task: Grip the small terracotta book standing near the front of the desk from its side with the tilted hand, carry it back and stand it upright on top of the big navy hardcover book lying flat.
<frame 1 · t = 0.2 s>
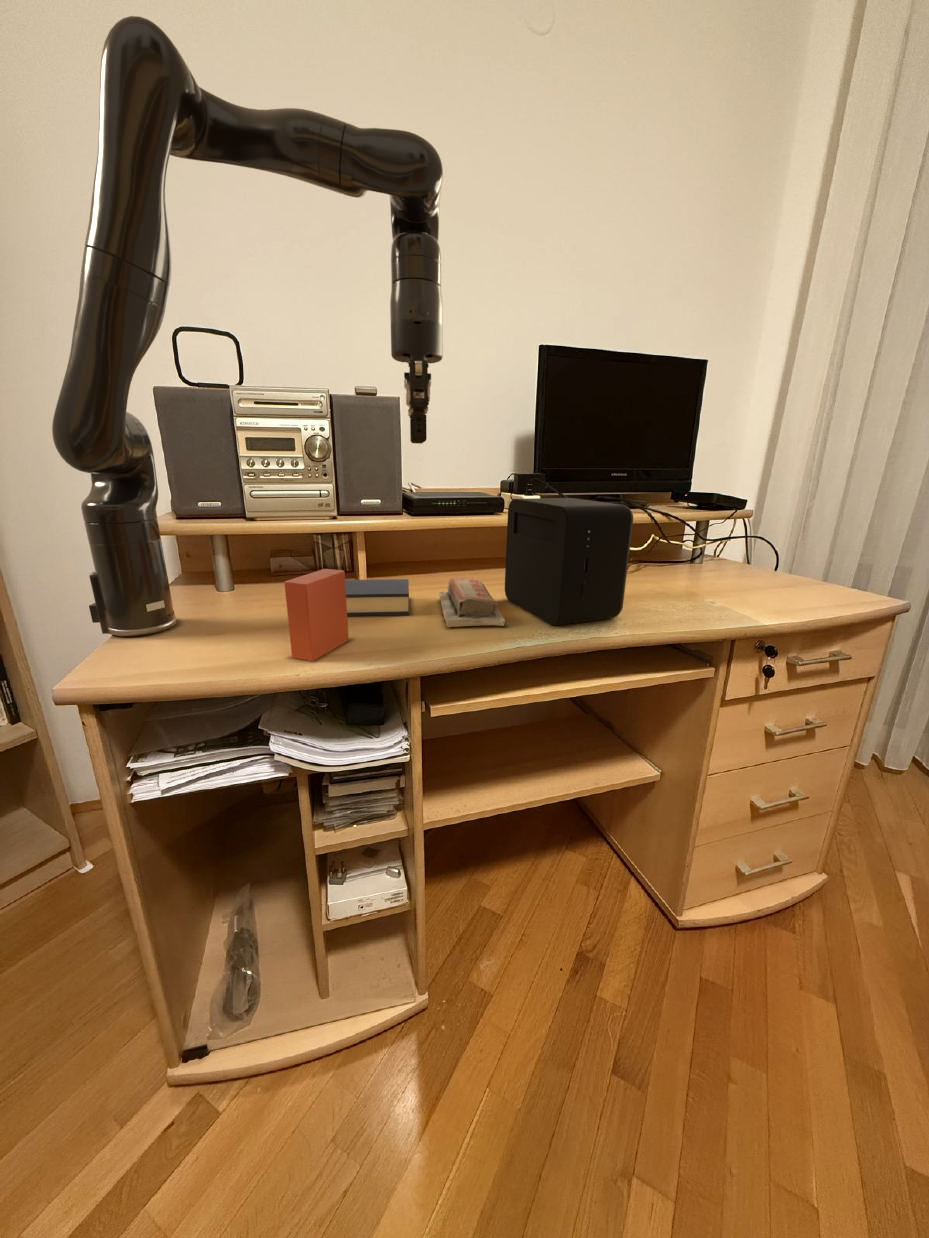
hand: (418, 442, 76), 29 cm above the table, tool pointing down, fingers open, 8 cm apart
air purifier: (561, 609, 93), on the table
packaged product: (469, 613, 90), on the table
small book: (321, 648, 72), on the table
big book: (371, 606, 93), on the table
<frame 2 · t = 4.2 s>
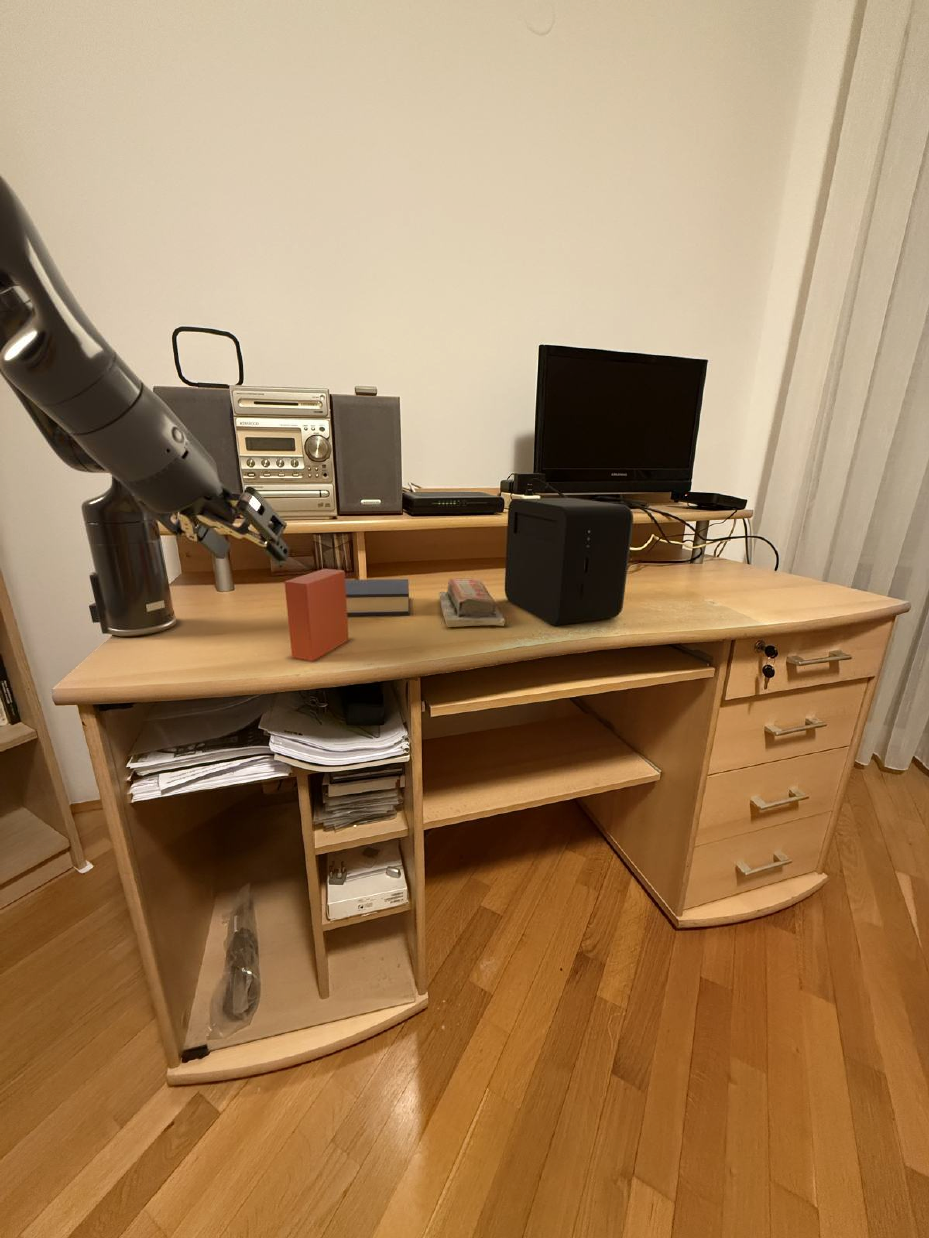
hand: (254, 555, 57), 16 cm above the table, tool tilted 45°, fingers open, 8 cm apart
nothing on the table moved.
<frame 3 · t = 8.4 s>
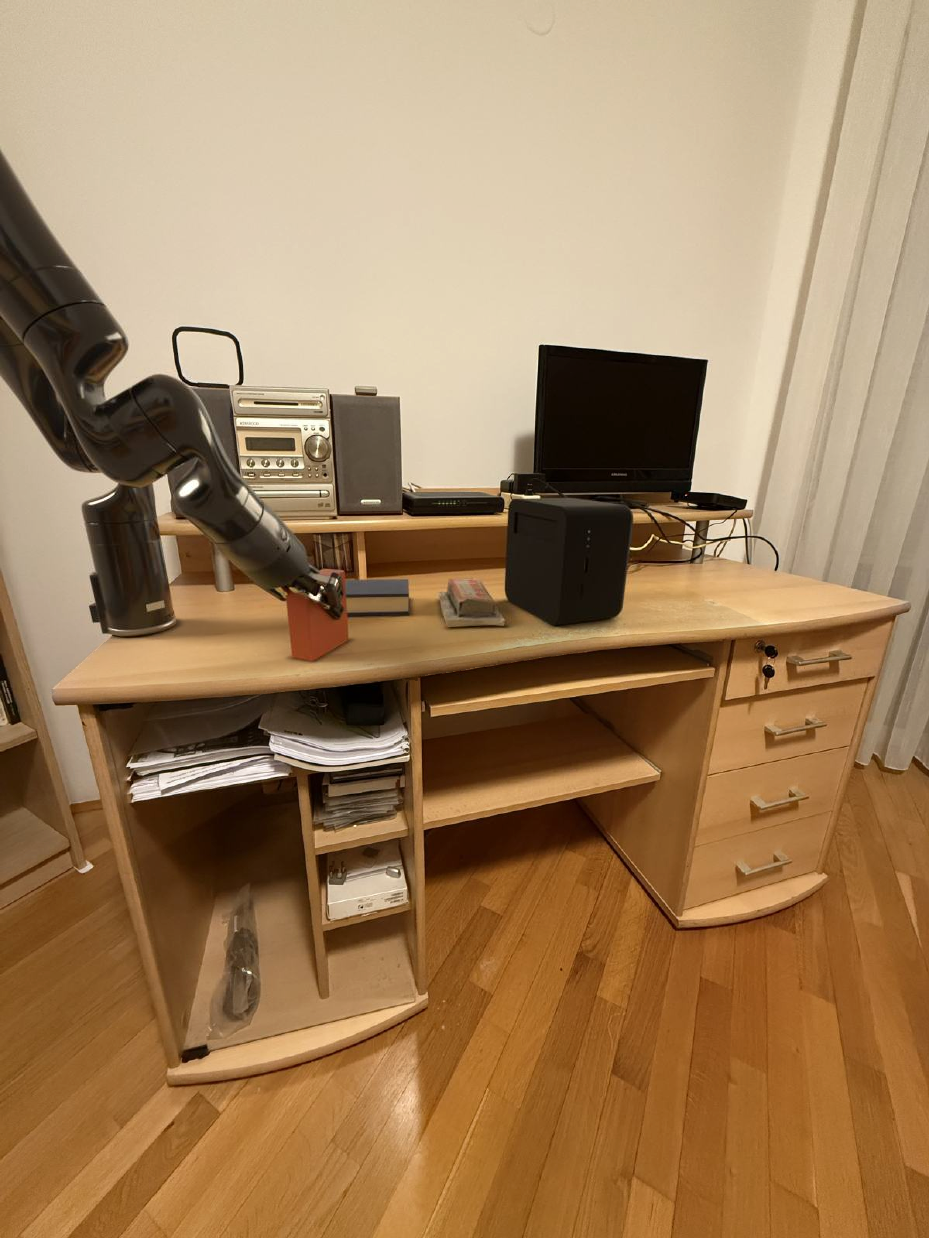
hand: (327, 612, 72), 5 cm above the table, tool tilted 45°, fingers closed on small book, 3 cm apart
small book: (321, 648, 72), on the table, touching gripper
everything else where it was.
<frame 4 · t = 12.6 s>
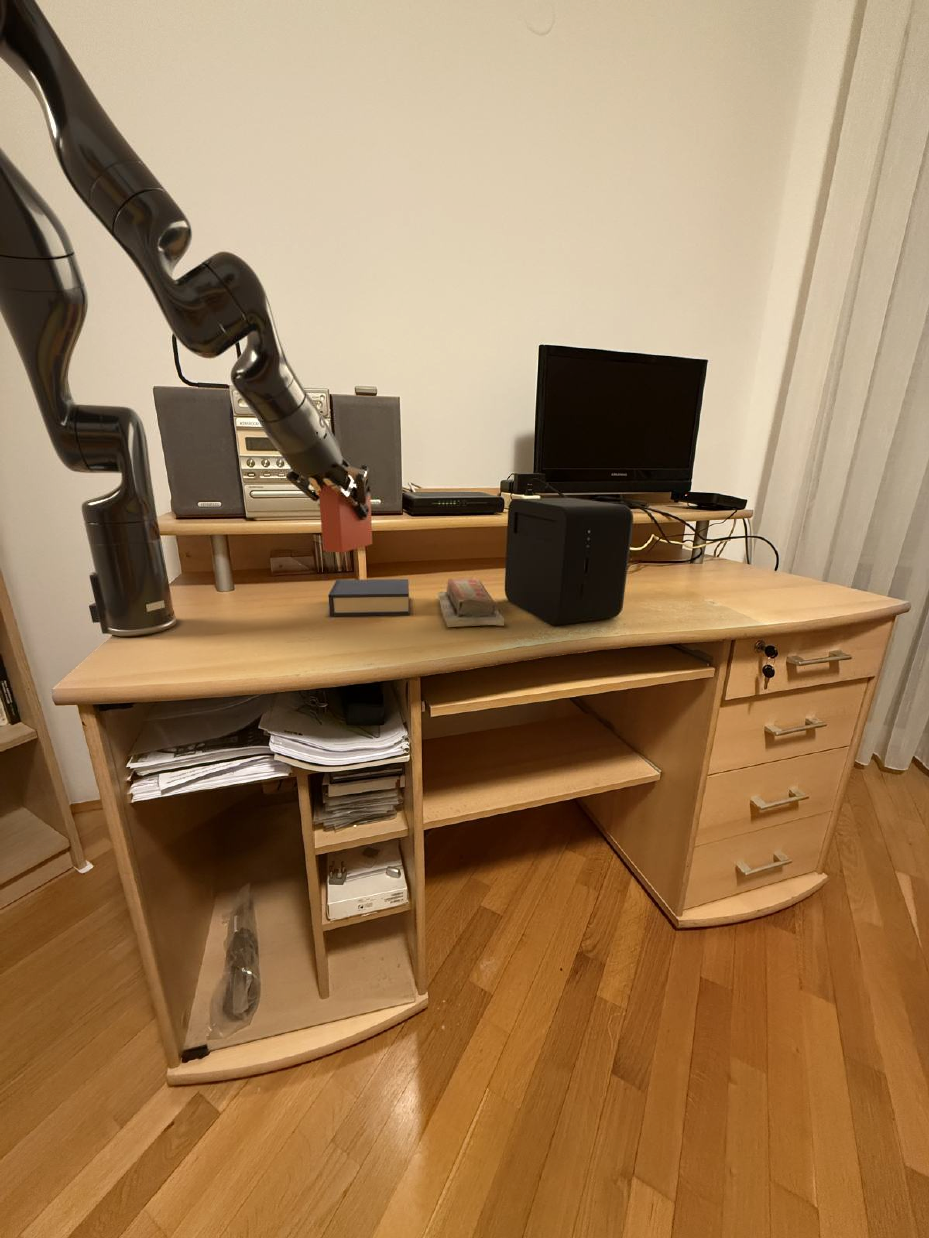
hand: (354, 515, 80), 18 cm above the table, tool tilted 45°, fingers closed on small book, 3 cm apart
small book: (348, 547, 80), point 13 cm above the table, touching gripper
everything else where it was.
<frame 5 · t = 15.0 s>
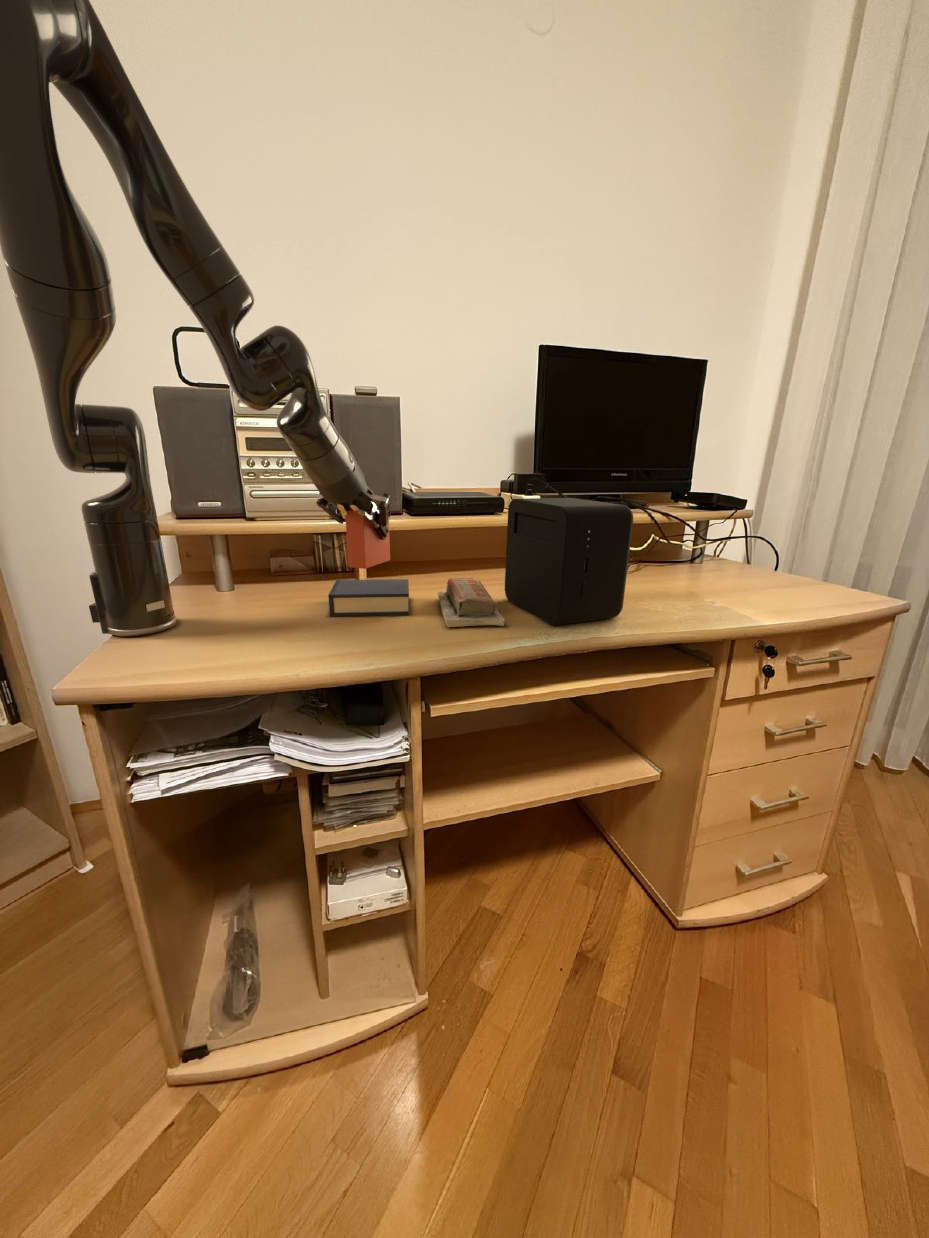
hand: (374, 534, 90), 13 cm above the table, tool tilted 45°, fingers closed on small book, 3 cm apart
small book: (370, 563, 90), point 8 cm above the table, touching gripper
everything else where it was.
when the fingers open (9 cm above the table, at t = 16.6 s): small book stays where it is, resting on big book.
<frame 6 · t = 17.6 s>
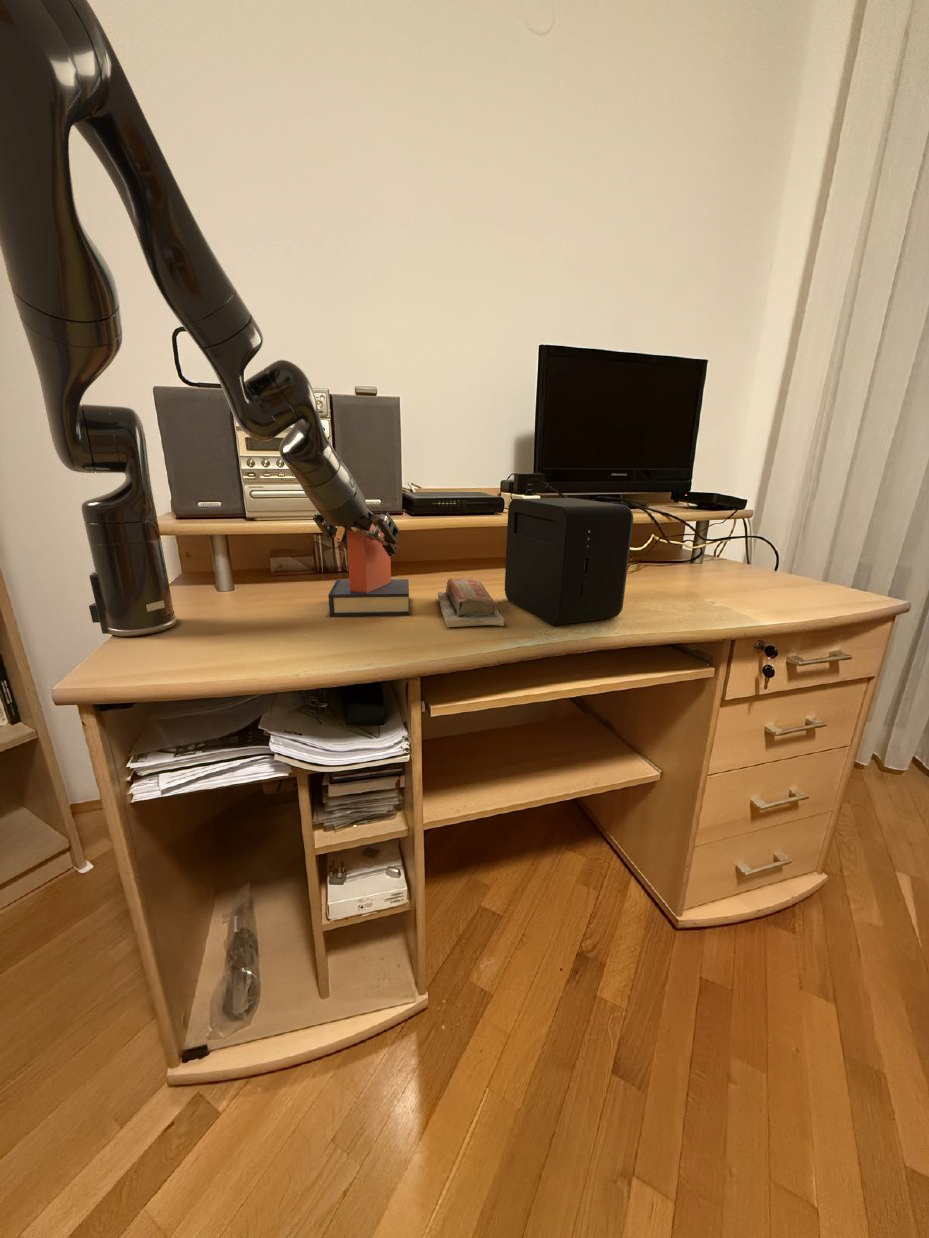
hand: (372, 550, 91), 11 cm above the table, tool tilted 45°, fingers open, 8 cm apart
small book: (371, 586, 91), point 4 cm above the table, touching big book
big book: (371, 606, 93), on the table, touching small book
everything else where it was.
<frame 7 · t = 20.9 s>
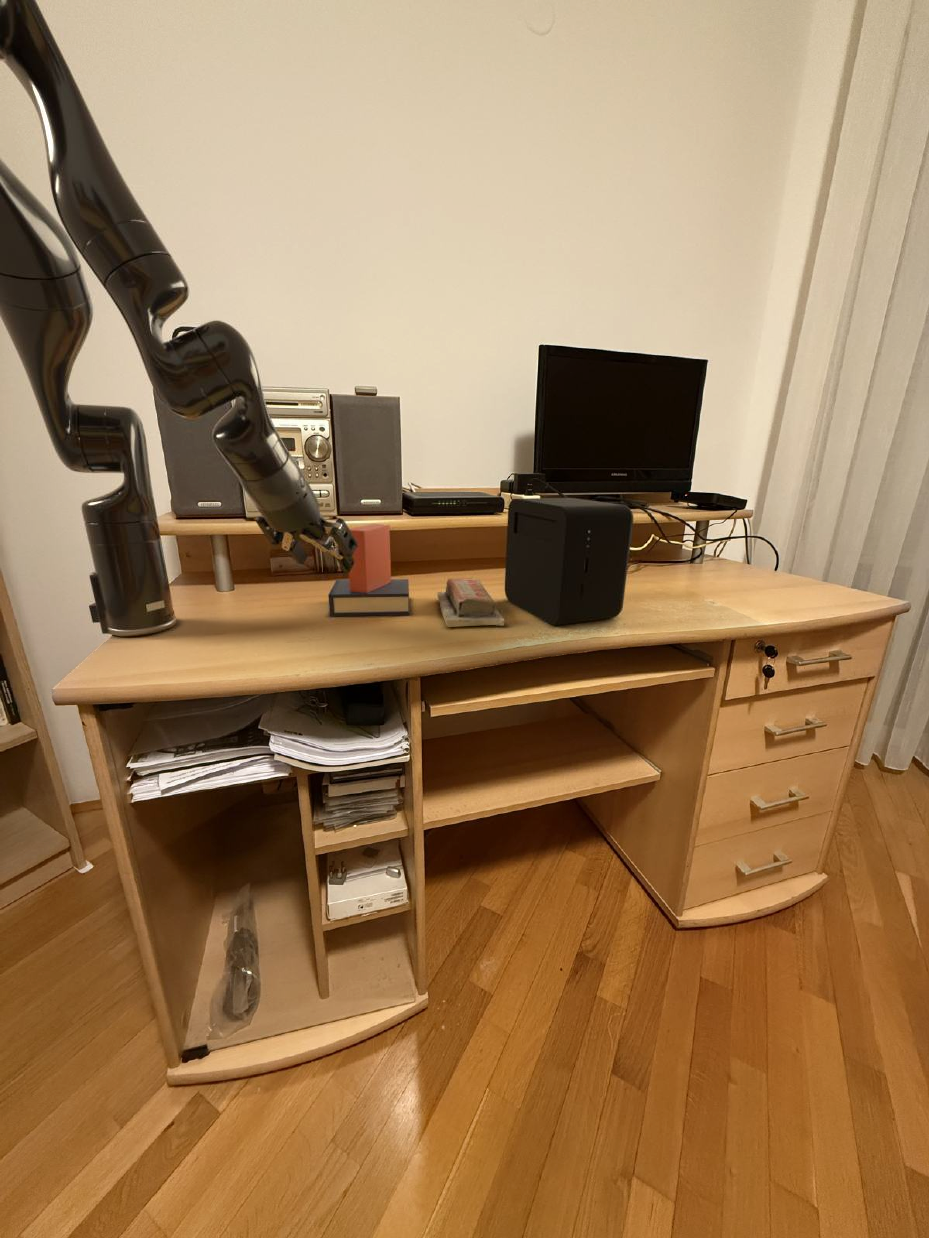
hand: (326, 564, 78), 11 cm above the table, tool tilted 40°, fingers open, 8 cm apart
nothing on the table moved.
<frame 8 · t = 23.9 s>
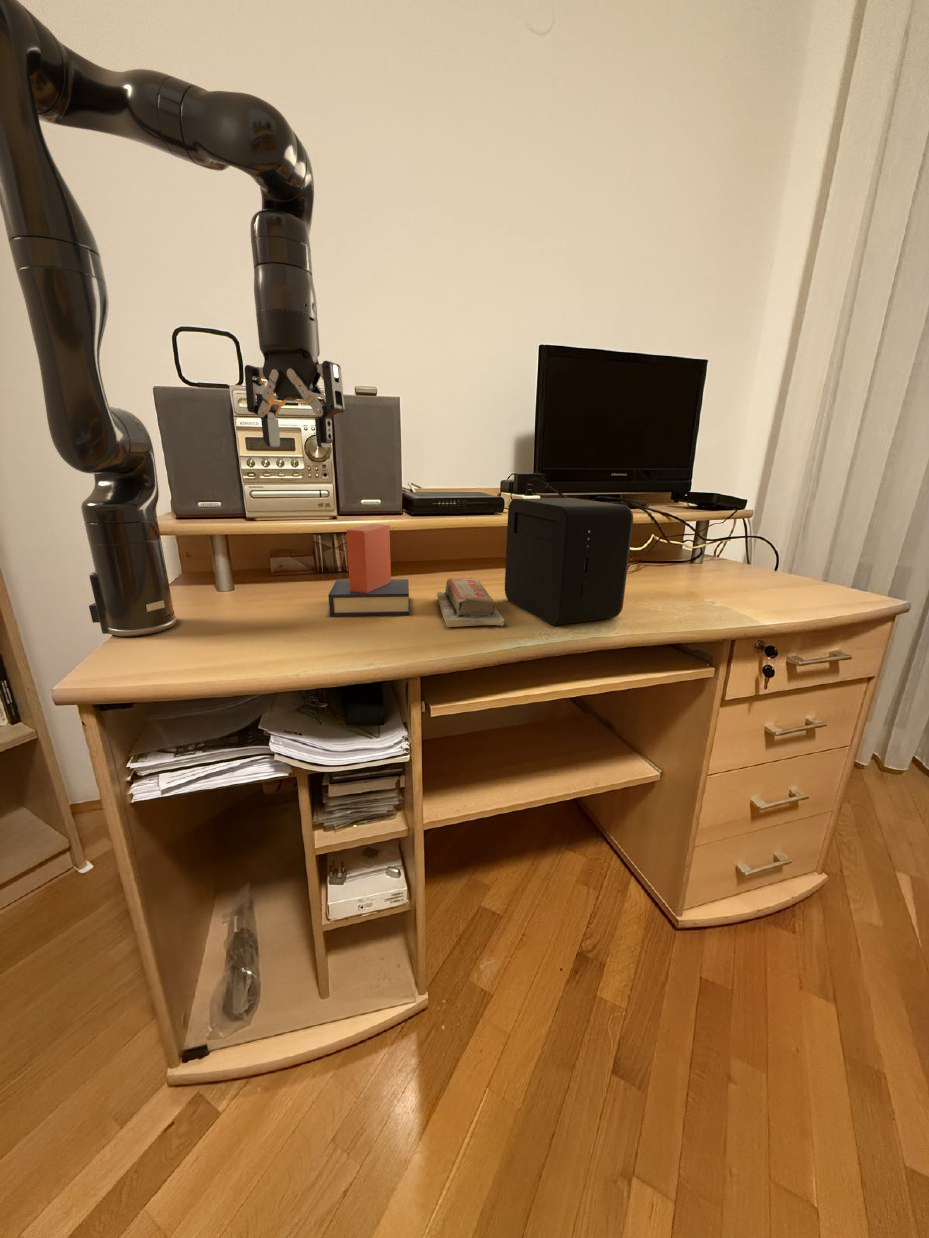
hand: (298, 447, 68), 28 cm above the table, tool pointing down, fingers open, 8 cm apart
nothing on the table moved.
at the end: small book inside the target area on the big book (0.2 cm from its centre), point 4.0 cm above the big book's base; small book tilted 0°; the gripper is holding nothing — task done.
